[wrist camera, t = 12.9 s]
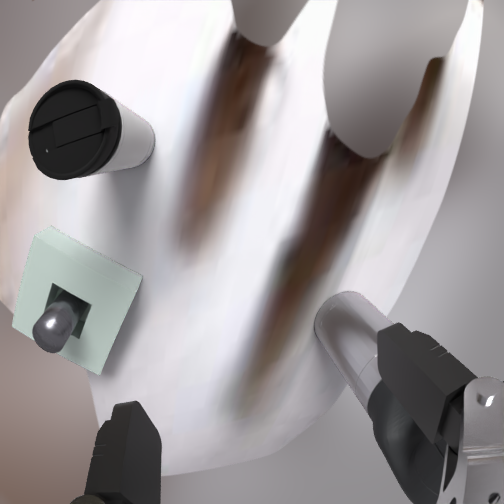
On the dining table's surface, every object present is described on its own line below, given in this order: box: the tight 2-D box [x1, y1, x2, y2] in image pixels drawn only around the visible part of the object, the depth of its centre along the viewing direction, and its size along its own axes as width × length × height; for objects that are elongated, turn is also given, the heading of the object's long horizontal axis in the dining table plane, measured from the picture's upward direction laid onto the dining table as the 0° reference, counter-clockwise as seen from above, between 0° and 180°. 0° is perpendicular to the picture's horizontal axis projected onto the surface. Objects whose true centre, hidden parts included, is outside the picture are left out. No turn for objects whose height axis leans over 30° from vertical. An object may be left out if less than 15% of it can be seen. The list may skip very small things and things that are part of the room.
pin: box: [32, 290, 89, 353], centre depth 32 cm, size 4×4×10 cm
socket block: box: [12, 226, 143, 376], centre depth 35 cm, size 14×14×5 cm
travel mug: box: [28, 80, 155, 180], centre depth 24 cm, size 6×7×20 cm
